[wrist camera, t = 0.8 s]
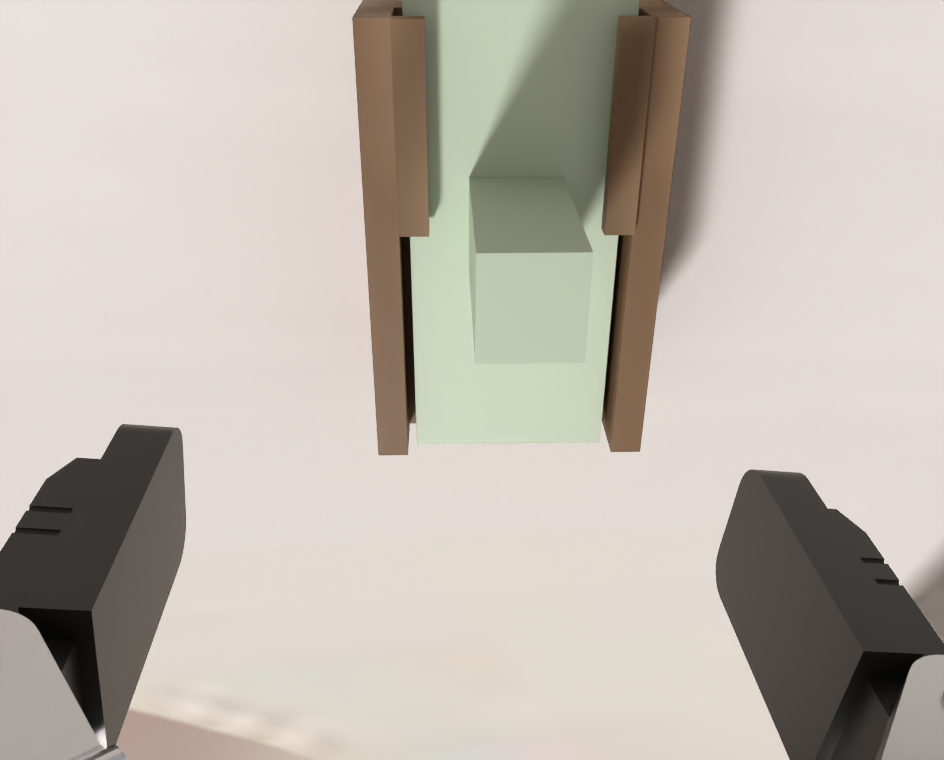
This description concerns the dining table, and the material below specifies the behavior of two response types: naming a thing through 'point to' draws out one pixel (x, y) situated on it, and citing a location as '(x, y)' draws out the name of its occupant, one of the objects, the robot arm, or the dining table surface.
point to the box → (624, 207)
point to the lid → (515, 221)
